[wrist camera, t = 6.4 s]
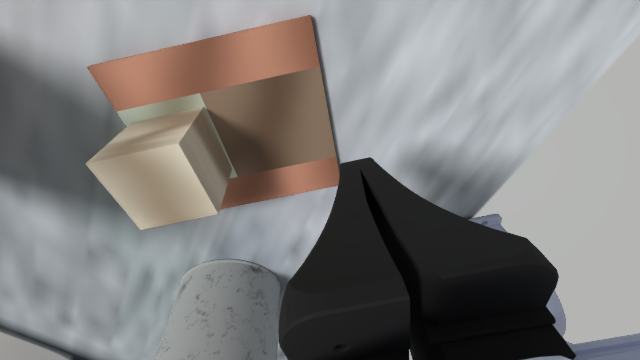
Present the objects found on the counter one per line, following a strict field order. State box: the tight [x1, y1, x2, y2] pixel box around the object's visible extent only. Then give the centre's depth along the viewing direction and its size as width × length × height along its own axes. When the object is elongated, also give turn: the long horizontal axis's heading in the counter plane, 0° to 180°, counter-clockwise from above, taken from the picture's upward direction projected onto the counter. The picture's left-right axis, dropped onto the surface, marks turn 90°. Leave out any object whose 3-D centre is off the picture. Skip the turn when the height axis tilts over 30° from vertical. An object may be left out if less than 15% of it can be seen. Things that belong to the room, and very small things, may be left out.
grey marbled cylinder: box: [154, 259, 281, 360], centre depth 23 cm, size 10×10×12 cm
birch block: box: [86, 107, 232, 230], centre depth 16 cm, size 4×4×4 cm
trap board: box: [87, 15, 340, 209], centre depth 18 cm, size 12×11×1 cm
